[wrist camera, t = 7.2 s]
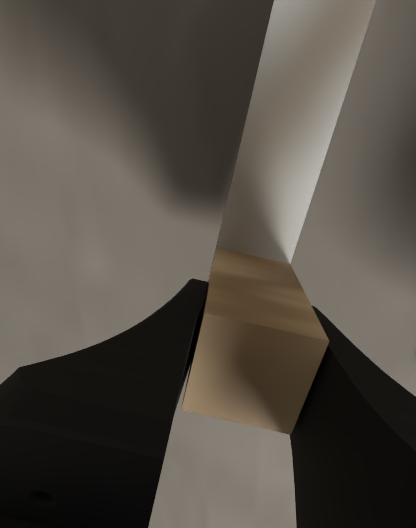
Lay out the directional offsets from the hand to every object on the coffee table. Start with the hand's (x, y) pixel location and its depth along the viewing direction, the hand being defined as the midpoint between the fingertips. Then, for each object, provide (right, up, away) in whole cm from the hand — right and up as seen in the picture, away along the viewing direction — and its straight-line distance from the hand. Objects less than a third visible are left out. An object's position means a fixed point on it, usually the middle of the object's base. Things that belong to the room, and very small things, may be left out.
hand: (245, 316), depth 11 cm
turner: (+1, +6, +1) cm, 6 cm away
